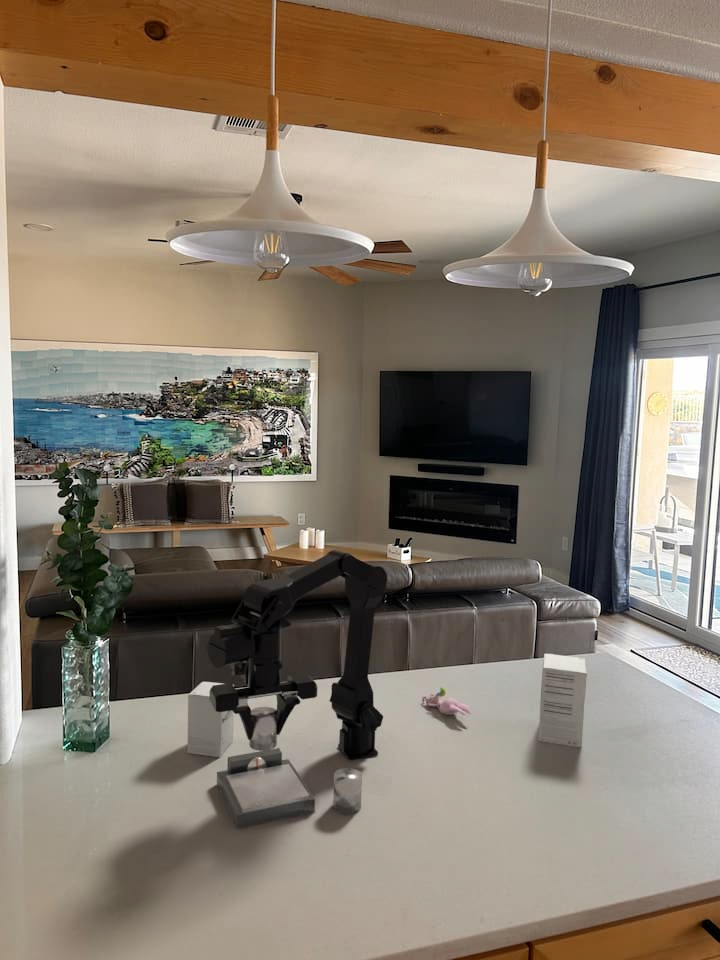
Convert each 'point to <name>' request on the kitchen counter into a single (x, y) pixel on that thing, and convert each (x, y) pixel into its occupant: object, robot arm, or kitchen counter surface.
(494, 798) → the kitchen counter surface
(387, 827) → the kitchen counter surface
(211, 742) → the supplement box
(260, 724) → the cylinder
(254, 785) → the dial scale
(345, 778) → the cylinder
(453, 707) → the rabbit figure
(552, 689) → the supplement box
